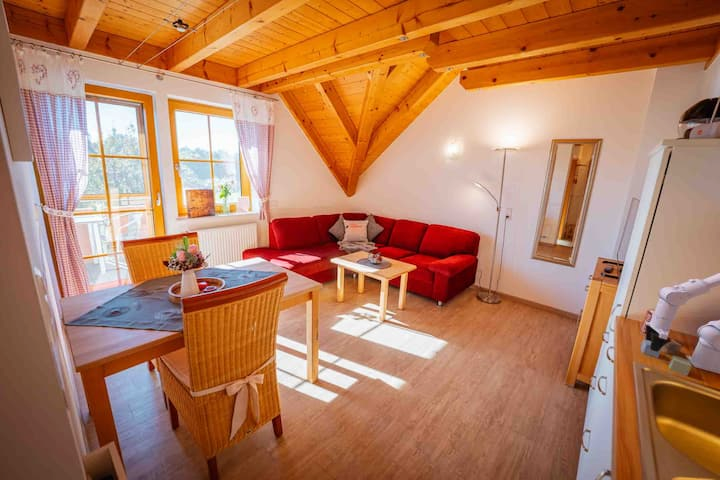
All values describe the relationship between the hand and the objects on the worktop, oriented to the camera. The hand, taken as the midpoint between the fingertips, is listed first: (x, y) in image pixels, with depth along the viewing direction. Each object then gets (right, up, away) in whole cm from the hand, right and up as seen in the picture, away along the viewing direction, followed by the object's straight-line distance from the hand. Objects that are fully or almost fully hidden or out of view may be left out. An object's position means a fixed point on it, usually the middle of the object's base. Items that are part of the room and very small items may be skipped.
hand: (651, 345), depth 119 cm
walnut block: (+10, -3, +3) cm, 11 cm away
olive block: (+1, -6, -8) cm, 11 cm away
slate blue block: (0, -3, +1) cm, 4 cm away
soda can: (+13, 0, +15) cm, 20 cm away
